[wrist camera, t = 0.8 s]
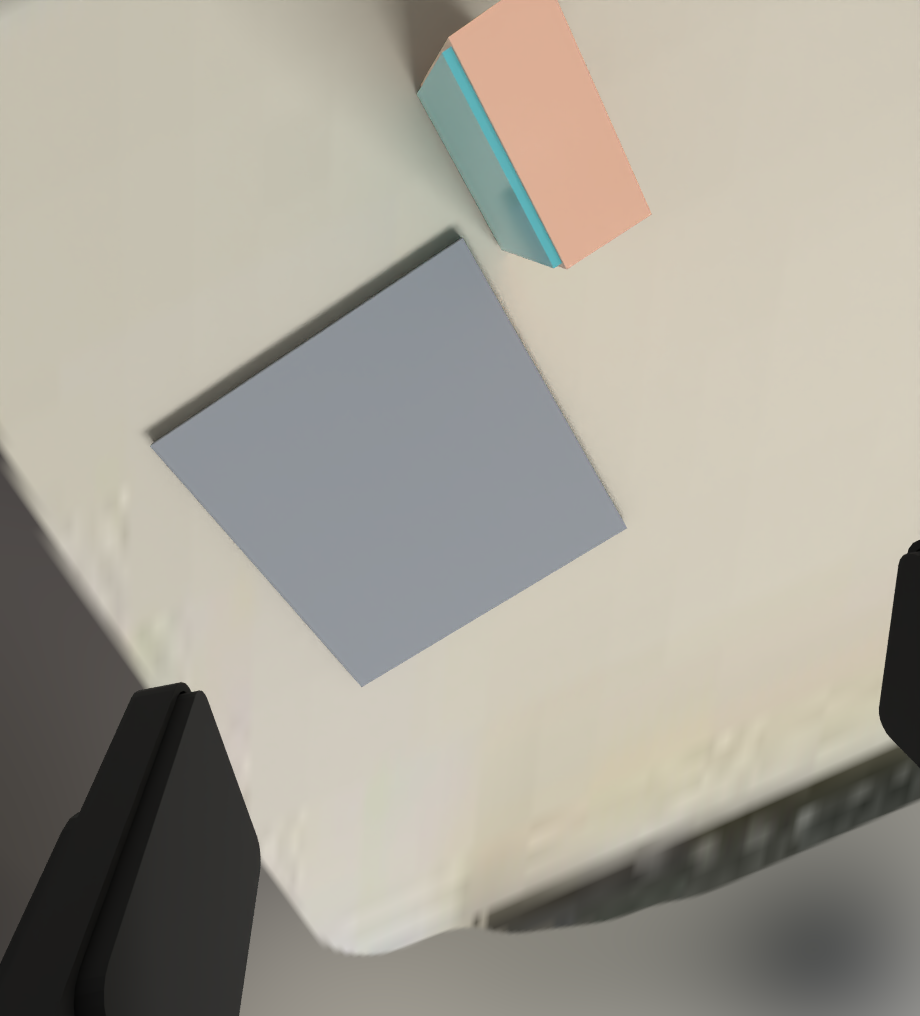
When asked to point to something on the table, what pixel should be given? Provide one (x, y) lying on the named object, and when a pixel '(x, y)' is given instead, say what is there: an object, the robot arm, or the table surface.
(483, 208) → the salmon orange block
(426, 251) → the table surface
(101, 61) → the table surface
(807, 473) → the table surface
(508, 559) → the mat
